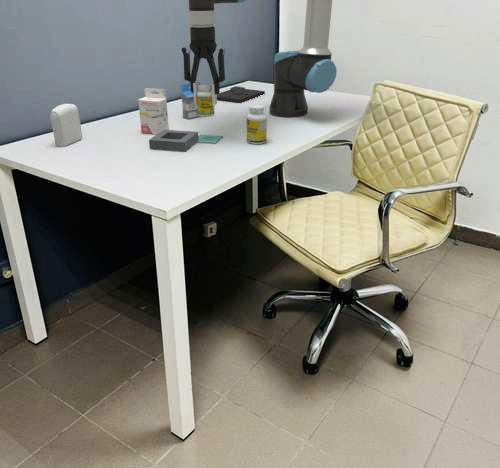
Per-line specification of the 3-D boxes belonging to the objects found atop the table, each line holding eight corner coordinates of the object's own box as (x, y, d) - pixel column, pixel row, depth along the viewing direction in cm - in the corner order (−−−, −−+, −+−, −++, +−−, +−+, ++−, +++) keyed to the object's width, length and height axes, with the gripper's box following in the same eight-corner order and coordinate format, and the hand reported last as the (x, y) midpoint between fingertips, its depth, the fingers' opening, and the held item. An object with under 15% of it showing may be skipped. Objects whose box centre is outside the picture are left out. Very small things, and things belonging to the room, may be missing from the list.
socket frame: (198, 140, 167) (198, 131, 166) (185, 151, 157) (185, 142, 156) (164, 138, 170) (163, 129, 169) (149, 149, 160) (148, 139, 158)
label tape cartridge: (188, 119, 192) (186, 86, 186) (182, 117, 195) (180, 84, 189) (207, 115, 197) (205, 83, 192) (201, 114, 200) (199, 81, 194)
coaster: (222, 136, 171) (222, 135, 171) (215, 143, 164) (215, 142, 164) (200, 135, 173) (200, 134, 173) (192, 142, 166) (192, 141, 166)
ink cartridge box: (140, 133, 176) (136, 90, 169) (148, 129, 180) (143, 87, 173) (163, 135, 173) (159, 91, 167) (169, 131, 177) (166, 88, 171)
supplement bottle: (213, 113, 168) (211, 83, 163) (215, 116, 163) (214, 86, 159) (196, 113, 167) (195, 83, 162) (199, 117, 162) (197, 87, 158)
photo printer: (64, 147, 162) (57, 108, 156) (53, 146, 164) (46, 107, 158) (84, 138, 171) (78, 101, 165) (74, 137, 172) (68, 100, 166)
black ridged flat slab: (236, 92, 239) (210, 100, 223) (236, 86, 238) (209, 94, 222) (264, 95, 231) (239, 104, 216) (264, 89, 230) (239, 97, 214)
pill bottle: (243, 140, 167) (243, 105, 162) (261, 138, 170) (262, 103, 164) (251, 145, 162) (251, 109, 157) (269, 143, 164) (270, 107, 159)
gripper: (235, 25, 154) (236, 102, 164) (178, 24, 158) (183, 99, 168) (228, 27, 147) (229, 107, 158) (169, 26, 151) (174, 104, 162)
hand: (205, 103), depth 163 cm, fingers closed on supplement bottle, 5 cm apart
